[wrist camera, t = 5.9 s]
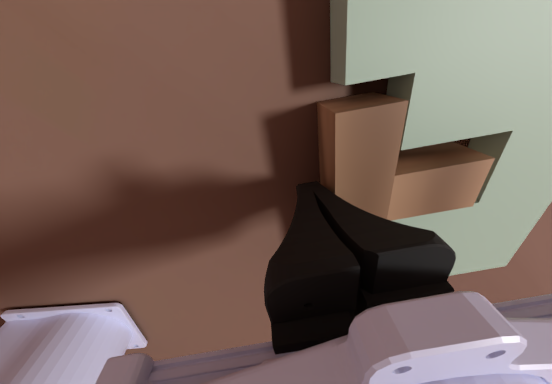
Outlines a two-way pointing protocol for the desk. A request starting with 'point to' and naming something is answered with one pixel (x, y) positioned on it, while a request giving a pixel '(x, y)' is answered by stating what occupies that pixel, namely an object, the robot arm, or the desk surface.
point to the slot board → (464, 102)
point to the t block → (392, 161)
